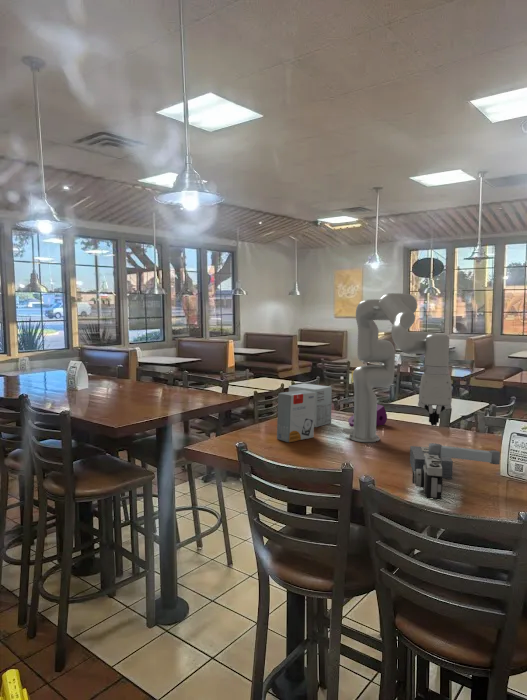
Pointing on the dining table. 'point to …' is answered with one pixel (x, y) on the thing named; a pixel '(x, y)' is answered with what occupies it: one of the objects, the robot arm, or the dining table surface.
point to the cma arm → (464, 453)
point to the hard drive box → (295, 415)
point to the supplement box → (318, 401)
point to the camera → (430, 477)
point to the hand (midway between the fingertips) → (433, 424)
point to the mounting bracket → (380, 418)
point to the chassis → (419, 461)
